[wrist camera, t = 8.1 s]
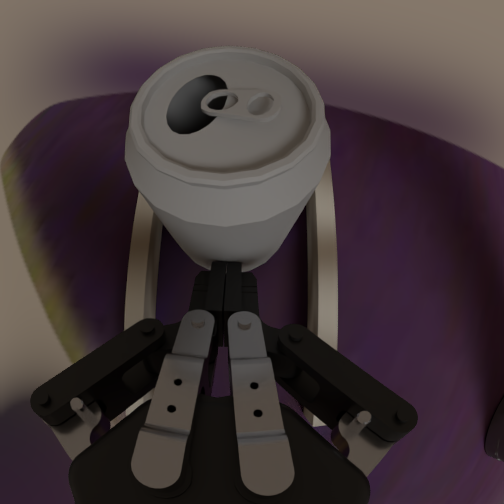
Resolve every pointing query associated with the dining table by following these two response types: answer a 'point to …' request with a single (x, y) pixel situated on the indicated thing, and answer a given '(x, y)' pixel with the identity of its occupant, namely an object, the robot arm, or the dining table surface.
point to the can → (228, 151)
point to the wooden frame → (319, 269)
